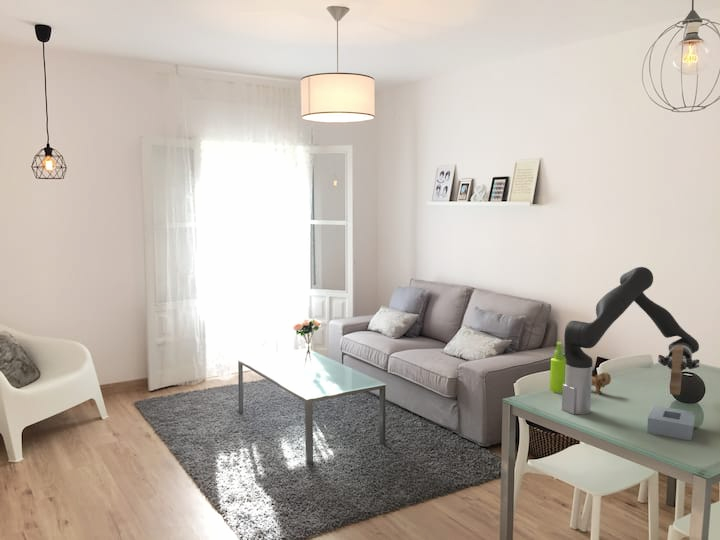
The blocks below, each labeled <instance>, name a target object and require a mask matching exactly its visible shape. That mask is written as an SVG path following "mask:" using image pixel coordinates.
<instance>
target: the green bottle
mask: <svg viewBox="0 0 720 540" xmlns="http://www.w3.org/2000/svg"><path fill="white" fill-rule="evenodd" d="M562 343H563V342H562V341H556V349H555V350H554V357H552V358H550V376H549V377H550V378H549V391H550V390H551V391H553V392H552V393H555V392H556V394H557V393H558V394H562V390H563V384H565V370H566V359H565V358H564V351H563V350H562ZM551 391H550V392H551Z"/></svg>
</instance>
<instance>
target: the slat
mask: <svg viewBox="0 0 720 540" xmlns="http://www.w3.org/2000/svg"><path fill="white" fill-rule="evenodd" d="M682 361H683V347H676V346H674V347H673V351H672V369H670V381H669V382H670V383H669V384H670V385H669V394H670V395H676V396H680V395H681V390H682V389H681V387H682V374H683V370H681V364H682Z"/></svg>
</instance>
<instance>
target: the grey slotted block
mask: <svg viewBox="0 0 720 540" xmlns="http://www.w3.org/2000/svg"><path fill="white" fill-rule="evenodd" d="M695 417H696V411H690V410H685V409H678V408H672V407H671V408H670V407H665V406H658V405H655V404H654V405H653V406H652V407H651V410H650V412H649V415H648V417H647V427H646V428H647V432H646V433H647V434H648V433H649V434H653V435H659V436H665V437H670V438H676V439H680V440H686V441H693V440H692V439H693V434H694V429H695Z"/></svg>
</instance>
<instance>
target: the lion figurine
mask: <svg viewBox="0 0 720 540" xmlns="http://www.w3.org/2000/svg"><path fill="white" fill-rule="evenodd" d="M611 380H612V377H611V374H610V373H608V372H602V373H599V374H596V375H595V376H594V375H592V385H591V387H593V386H594V387H595V393H596V395H597V394H599V395H601V394H602V393H603V392H602V391H601V389H602V388H605V386H608V385H610V384H611Z"/></svg>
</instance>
